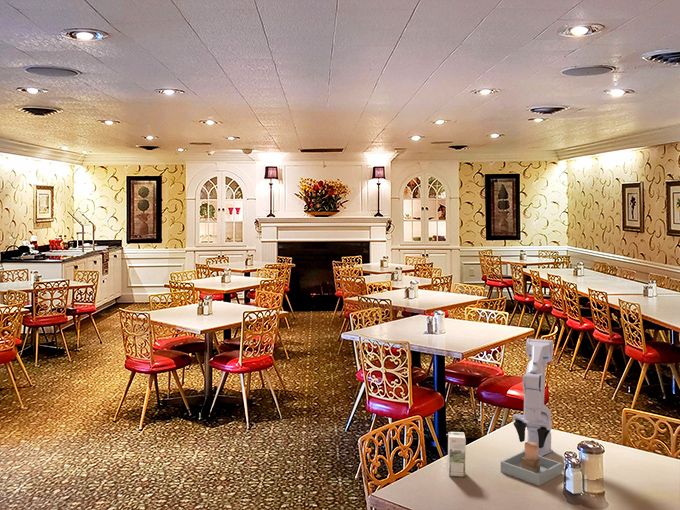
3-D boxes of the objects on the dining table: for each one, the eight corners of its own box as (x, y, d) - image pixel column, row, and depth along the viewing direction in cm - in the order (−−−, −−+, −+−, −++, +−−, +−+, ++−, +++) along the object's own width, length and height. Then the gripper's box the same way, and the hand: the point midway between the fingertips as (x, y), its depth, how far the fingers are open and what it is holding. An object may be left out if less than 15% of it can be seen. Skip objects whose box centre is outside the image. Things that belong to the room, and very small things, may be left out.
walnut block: (528, 466, 219) (528, 454, 219) (540, 470, 216) (540, 458, 215) (521, 470, 216) (521, 457, 216) (532, 474, 213) (533, 461, 212)
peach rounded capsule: (528, 454, 219) (529, 441, 219) (540, 458, 215) (540, 444, 215) (521, 457, 216) (522, 444, 216) (533, 461, 212) (533, 447, 212)
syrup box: (463, 470, 218) (464, 431, 217) (465, 477, 212) (465, 437, 211) (447, 470, 218) (448, 430, 217) (448, 477, 212) (449, 436, 212)
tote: (523, 460, 227) (524, 450, 227) (561, 473, 215) (561, 463, 215) (500, 471, 217) (500, 461, 217) (538, 485, 205) (538, 475, 205)
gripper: (508, 404, 217) (507, 441, 218) (544, 414, 207) (544, 453, 207) (519, 400, 222) (518, 436, 223) (555, 410, 211) (554, 447, 212)
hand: (531, 444), depth 215 cm, fingers open, 7 cm apart
